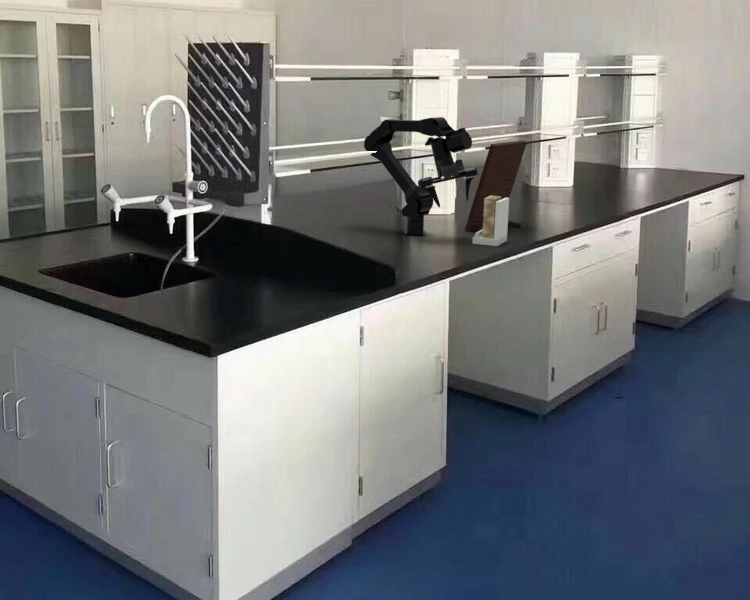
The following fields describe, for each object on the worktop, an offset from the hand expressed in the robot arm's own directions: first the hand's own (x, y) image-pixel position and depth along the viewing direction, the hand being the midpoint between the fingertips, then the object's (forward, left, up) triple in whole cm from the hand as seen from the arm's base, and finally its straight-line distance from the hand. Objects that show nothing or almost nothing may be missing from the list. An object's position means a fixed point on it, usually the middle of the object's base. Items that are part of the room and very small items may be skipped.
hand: (453, 204), depth 289 cm
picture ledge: (0, +12, -12) cm, 17 cm away
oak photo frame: (0, +12, -10) cm, 16 cm away
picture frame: (-23, +13, -12) cm, 29 cm away
